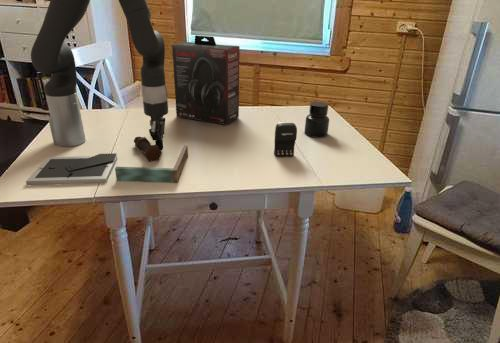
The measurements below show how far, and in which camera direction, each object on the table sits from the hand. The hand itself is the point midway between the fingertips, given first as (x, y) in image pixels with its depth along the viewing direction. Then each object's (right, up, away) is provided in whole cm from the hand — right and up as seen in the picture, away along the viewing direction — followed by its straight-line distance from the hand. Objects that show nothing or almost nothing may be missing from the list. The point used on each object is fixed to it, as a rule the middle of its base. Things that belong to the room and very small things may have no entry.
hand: (159, 149), depth 121 cm
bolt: (-4, -1, -1) cm, 5 cm away
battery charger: (+42, -2, 0) cm, 42 cm away
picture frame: (-21, -8, -14) cm, 27 cm away
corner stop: (+1, -6, -11) cm, 12 cm away
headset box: (+12, +16, +34) cm, 39 cm away
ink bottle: (+56, +7, +20) cm, 60 cm away
